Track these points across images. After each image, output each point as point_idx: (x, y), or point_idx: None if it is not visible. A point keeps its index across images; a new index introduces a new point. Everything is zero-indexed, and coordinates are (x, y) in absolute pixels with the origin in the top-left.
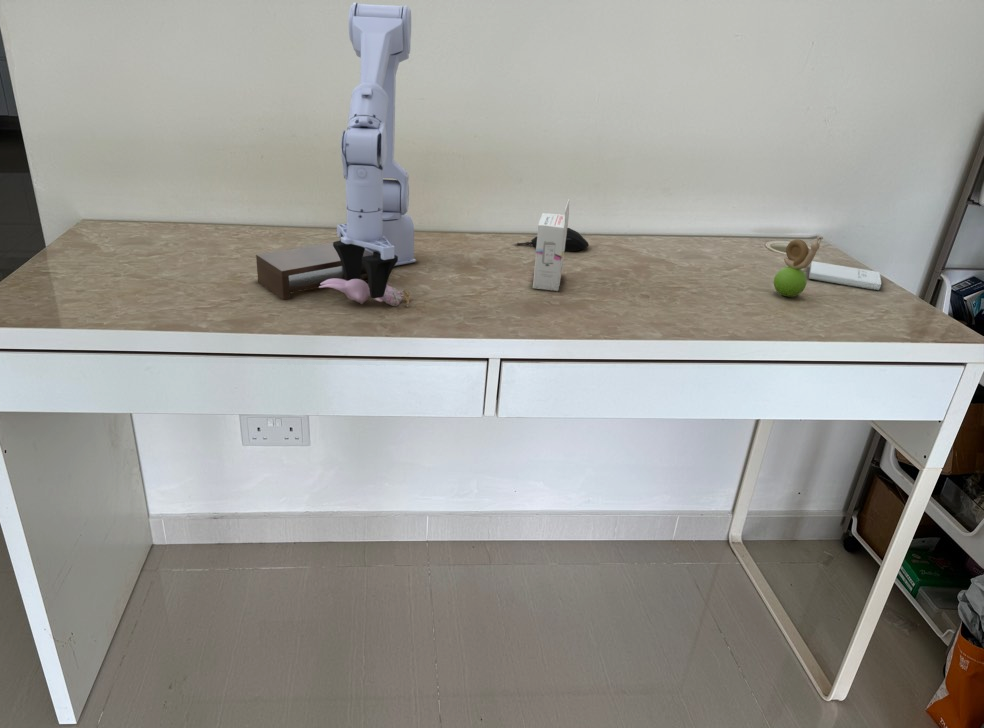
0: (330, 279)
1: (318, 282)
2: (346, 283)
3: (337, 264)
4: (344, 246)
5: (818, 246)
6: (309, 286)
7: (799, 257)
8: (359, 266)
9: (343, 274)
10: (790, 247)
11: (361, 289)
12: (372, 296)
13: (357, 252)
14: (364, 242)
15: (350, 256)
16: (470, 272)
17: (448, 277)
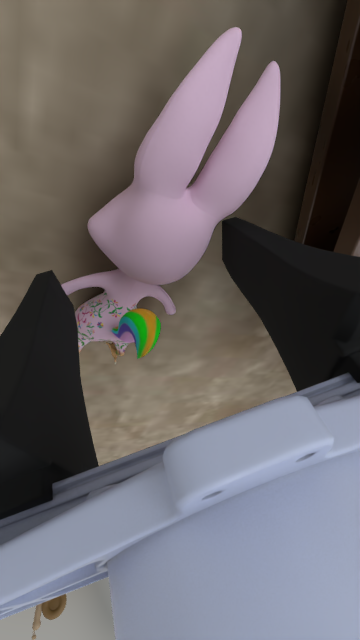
0: (260, 140)
1: (346, 99)
2: (190, 209)
3: (351, 224)
4: (337, 325)
5: (32, 627)
6: (351, 27)
7: (45, 602)
8: (252, 300)
9: (333, 227)
10: (60, 604)
11: (115, 254)
12: (35, 278)
13: (288, 340)
14: (48, 579)
15: (288, 304)
16: (215, 414)
17: (212, 394)
